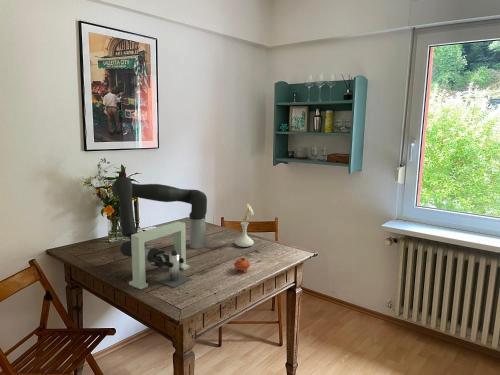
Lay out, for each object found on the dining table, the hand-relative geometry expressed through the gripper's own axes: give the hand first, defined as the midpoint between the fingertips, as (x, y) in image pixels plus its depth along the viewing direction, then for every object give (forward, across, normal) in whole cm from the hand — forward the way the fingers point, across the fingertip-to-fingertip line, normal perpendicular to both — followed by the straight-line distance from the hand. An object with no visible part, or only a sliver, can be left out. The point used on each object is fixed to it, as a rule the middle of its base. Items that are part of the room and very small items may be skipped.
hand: (177, 263), depth 162 cm
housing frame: (-11, 0, +9) cm, 15 cm away
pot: (+15, +28, +9) cm, 34 cm away
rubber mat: (-2, 0, +9) cm, 9 cm away
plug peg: (-3, 0, +8) cm, 9 cm away
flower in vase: (-6, +60, +9) cm, 61 cm away
